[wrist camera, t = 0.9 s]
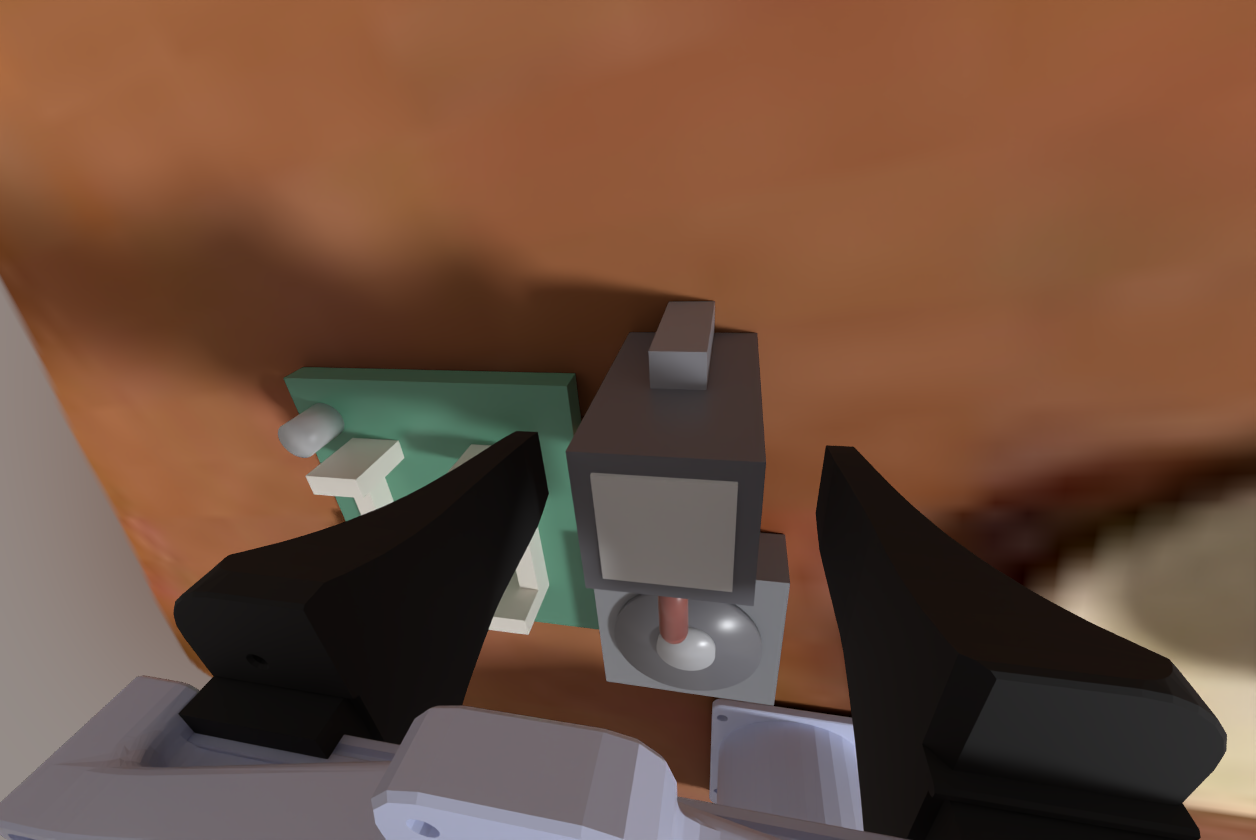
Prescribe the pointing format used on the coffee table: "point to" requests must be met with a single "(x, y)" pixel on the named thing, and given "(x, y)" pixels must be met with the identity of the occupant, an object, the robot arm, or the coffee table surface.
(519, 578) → the board
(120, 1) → the coffee table surface
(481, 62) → the coffee table surface
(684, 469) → the plug
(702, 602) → the grey dished knob block
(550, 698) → the coffee table surface
